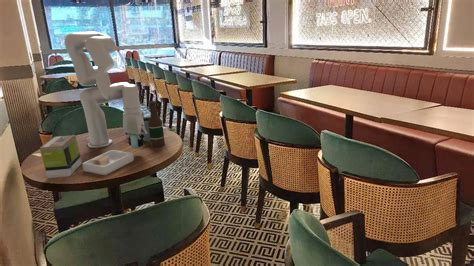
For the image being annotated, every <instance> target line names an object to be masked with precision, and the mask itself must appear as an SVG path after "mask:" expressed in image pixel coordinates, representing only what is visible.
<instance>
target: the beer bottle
mask: <svg viewBox="0 0 474 266" xmlns="http://www.w3.org/2000/svg"><path fill="white" fill-rule="evenodd" d="M148 105H149V110H150V111H149V112H150V116H149V117H150V119H149V122H148V127H149V135H150V141H149V142H150V146H151V147H153V148H159V147H160V148H161V147H163V146H165V134H164V125H163V121H162V120H163V119H162V118H161V117H160V116H159V114H158V107H157V102H156V101H155V100H151V101H149V102H148Z"/></svg>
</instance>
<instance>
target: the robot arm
mask: <svg viewBox="0 0 474 266" xmlns="http://www.w3.org/2000/svg"><path fill="white" fill-rule="evenodd" d="M64 46H65V49H66V50H65V51H66V52H67V55H68V56H69V58H70V60H71V62H72V65H73V67H74V68H73V69H74V72H75V75H76V79H77V81H78V83H79V85H80V86H82V87H86V86H94V85H96V86H94V87H89V88H88V87H87V88H85V89H83V90H81V91H80V92H79V100H80V103H81V105H82V107H83V112H84V117H85V121H86V125H87V126H86V127H87V131H88V137H86V141H89V142H88V144H87V146H88V148H91V149H97V148H99V149H100V148H105V147H107V146H110V145H111V144H112V143H113V139H110V138H109V133H108V127H107V123H106V122H107V121H106V116H105V112H104V111H103V109H102V108H101V107H100V106H101V105H103V104H107V103H108V104H109V103H111V102H112V101H116V100H120V99H122V105H123V107H122V109H123V112H122V128H123V129H122V131H123V132H124V134H125V135H126V137H127V138H128V144H129V146H130V147H131V139H130V134H136V135H137V136H138V147H141V146H142V147H144V141H143V138H144V136H145V135H146V134H147V131H146V130H145V126H144V120H143V116H142V113H141V111H140V110H141V104H140V96H139V95H140V94H139V88H138V85H137V84H136V83H135V84H134V83H129V82H127V81H123V82H115V83H111V80H110V75H109V73H108V71H110V70H111V69H112V68H113V67H114V65H115V61H114V59H113V57H112V56H111V54H112V53H114V52H115V51H116V49H117V46H116V43H115V40H114V39H113V38H112V37H111V36H110V35H107V34H104V33H102V32H99V31H82V32H81V31H80V32H79V31H78V32H77V31H76V32H70V33H68V34H67V35H66V36H65V38H64ZM83 50H86V51H87V53H88V54H89V55H87V54H86V53H85V52H84V51H83ZM89 56H90V57H89ZM90 59H92V62H93V64H94V66H92V62H91V60H90ZM99 105H100V106H99ZM142 132H143V133H142ZM140 135H141V136H140ZM142 147H141V148H142Z"/></svg>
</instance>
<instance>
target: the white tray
mask: <svg viewBox="0 0 474 266" xmlns="http://www.w3.org/2000/svg"><path fill="white" fill-rule="evenodd" d="M133 153H134V152H130V151H123V150H116V149H110V150H109V151H106V152H103V153H102V154H100V155H97V156H95V157H92V158H91V159H89V160H86V161H84V162H82V164H81V165H82V169H83V172H86V173H92V174H97V175H103V176H108V175H110V174H112V173H114V172H115V171H118V170H119V169H121V168H123V167H126V166H127V165H129V164H130V163H132V162H134V161H135V158H134V154H133ZM98 156H107V157H109V162H110V164H108V165H106V166H101V165H95V164H93V163H92V159H94V158H96V157H98Z"/></svg>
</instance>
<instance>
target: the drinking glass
mask: <svg viewBox="0 0 474 266" xmlns="http://www.w3.org/2000/svg"><path fill="white" fill-rule="evenodd" d="M149 119H150V116H144V118H143V120H144V126H145V130H146V131H147V134H146V135H145V136H144V138H143V140H144V141H143V142H150V135H149V127H148V122H149ZM142 133H143V132H142Z"/></svg>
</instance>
